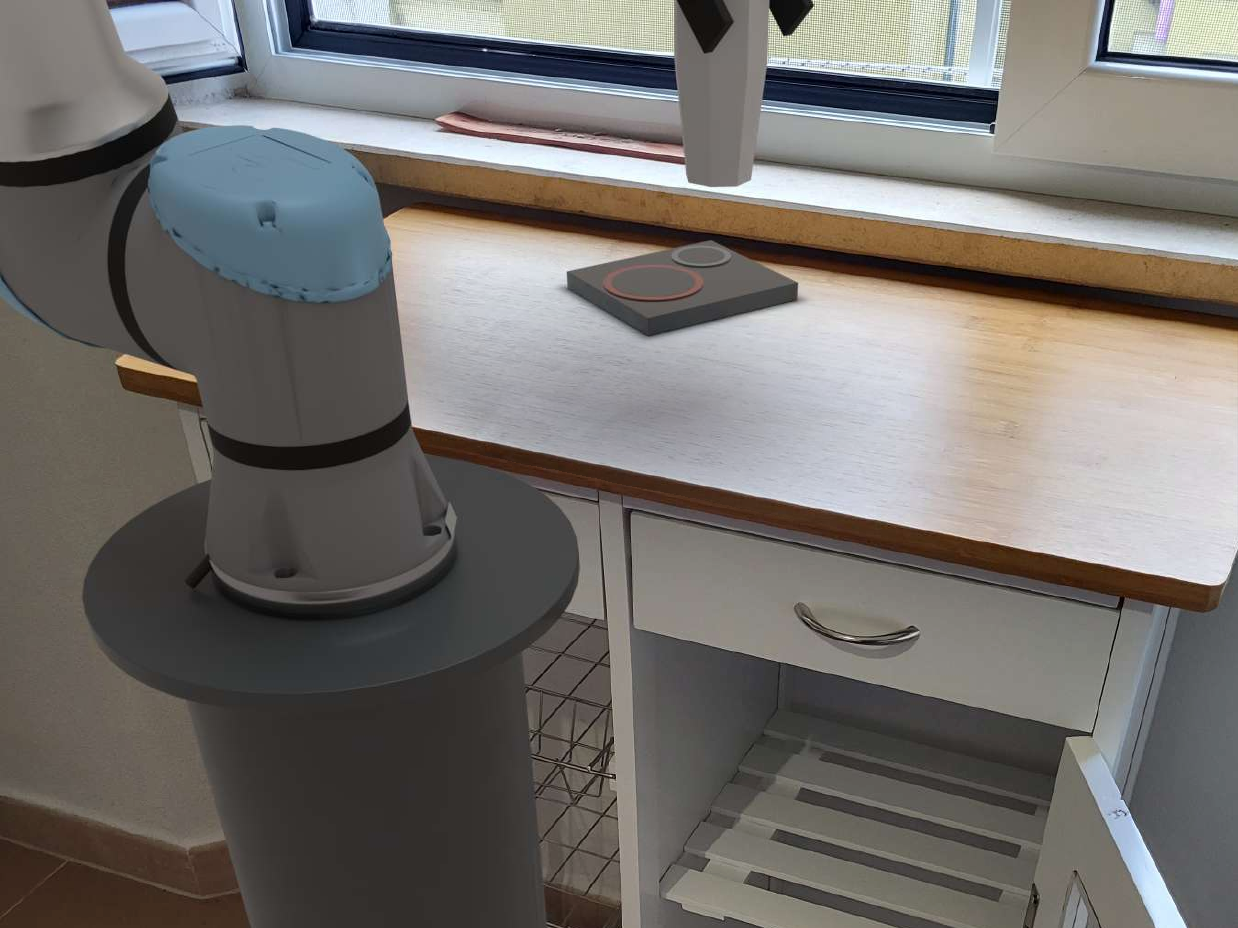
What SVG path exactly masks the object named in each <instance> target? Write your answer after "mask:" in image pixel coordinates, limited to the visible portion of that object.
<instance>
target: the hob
mask: <svg viewBox="0 0 1238 928" xmlns="http://www.w3.org/2000/svg"><path fill="white" fill-rule="evenodd" d="M566 288H567V289H568V290H570V291H571V292H574V293H575V294H576V295H578V296H580V297H582V298H583V299H585V300H587V301H588V302H590V303H592V304H593V305H596V306H597V307H599V308H600V309H602V310H604V311H606V312H608V313H609V314H610V315H612V316H614V317H615V318H617V319H619V320H621V321H623V322H624V323H626V324H627V325H629V326H631V327H633V328H634V329H636V330H638V331H640V332H641V333H643V334H645V335H646V336H648V337H649V336H653V335H656V334H662V333H666V332H669V331H673V330H679V329H682V328H685V327H689V326H695V325H698V324H702V323H703V324H704V323H707V322H711V321H715V320H719V319H723V318H728V317H731V316H736V315H740V314H744V313H747V312H751V311H756V310H759V309H764V308H768V307H772V306H776V305H780V304H784V303H788V302H789V303H790V302H792V301H797V300H798V299H799V298H798V296H799V282H798V281H796V280H794V279H792V278H789V276H785V275H783V274H781V273H779V272H778V271H775V270H773V269H772V268H769V267H767V266H765V265H763V264H761V263H759V262H757V261H755V260H752V259H751V258H749V257H747V256H744V255H743V254H740V253H738V252H736V251H735V250H732V249H730V248H728V247H726V246H724V245H722V244H720V243H718V242H715V241H714V240H712V239H710V240H705V241H701V242H697V243H691V244H687V245H682V246H677V247H673V248H669V249H664V250H659V251H654V252H650V253H646V254H640V255H636V256H632V257H631V256H630V257H626V258H623V259H618V260H613V261H608V262H603V263H598V264H595V265H590V266H586V267H581V268H576V269H572V270H571V269H570V270H567V271H566Z"/></svg>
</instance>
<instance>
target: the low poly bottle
mask: <svg viewBox="0 0 1238 928" xmlns="http://www.w3.org/2000/svg"><path fill="white" fill-rule="evenodd" d="M723 1H724V3H725V5H726V7H727V9H728V11H729V13H730V15H731V16H732V18H733V20H734V23H733V24H732V26H731V27H730V28H729V30H728V31H727V33H726V34H725V35H724V37H723V38H722V40H721V41H720V42H719V44H718V45H717V47H716V48H715V49H714V51H713V52H710V53H706V54H704V53H703V51H702V49H701V47H700V45H699V43H698V41H697V39H696V37H695V35H694V33H693V31H692V29H691V27H690V26H689V24H688V22H687V20H686V18H685V16H684V14H683V12H682V10H681V8H680V6H679V4H678V2H677V0H673V50H674V51H673V59H674V70H675V78H676V86H677V87H676V89H677V98H678V107H679V118H680V128H681V137H682V147H683V157H684V166H685V167H684V168H685V176H686V179H687V182H688V184H693V185H698V186H703V187H707V188H731V187H733V188H736V187H739V186H742V185H745V184H746V183H748V182H750V181H752V177H753V176H752V175H753V169H754V161H755V154H756V148H757V147H756V146H757V140H758V133H759V126H760V120H761V119H760V118H761V110H762V103H763V96H764V91H765V90H764V89H765V83H766V75H767V67H768V53H769V52H768V51H769V24H770V21H769V20H770V9H769V0H723Z"/></svg>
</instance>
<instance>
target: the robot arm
mask: <svg viewBox="0 0 1238 928" xmlns="http://www.w3.org/2000/svg"><path fill="white" fill-rule="evenodd" d="M677 2H678V4H679V6H680V8H681V10H682V12H683V14H684V16H685V18H686V20H687V22H688V24H689V26H690V27H691V29H692V31H693V33H694V35H695V37H696V39H697V41H698V43H699V45H700V47H701V49H702V51H703V53H704V54H706V53H710V52H713V51H714V49H715V48H716V47H717V45H718V44H719V42H720V41H721V40H722V38H723V37H724V35H725V34H726V33H727V31H728V30H729V28H730V27H731V26H732V24H733V23H734V20H733V18H732V16H731V15H730V13H729V11H728V9H727V7H726V5H725V3H724V1H723V0H677ZM814 7H815V3H814V2H813V0H769V12H770V13H771V15H772V17H773V18H774V21H775V23H776V25H777V27H778V28H779V30H780V32H781V34H782V36H783V37H790V36H792V35H793V34H794V32H795V31H796V30H797V29H798V28H799V27H800V25H801V23H802V22H803V21H804V19H805V18H806V17H807V16H808V14H809V13H810V12H811V10H812V9H813V8H814ZM170 94H171V93H170V92H169V89H168V86H167V83H166V81H165V80H164V78H163V77H162V75H160V74H159V73H158V72H156V71H155V70H154V69H151V68H150V67H148V66H146V65H144V64H143V63H141V62H140V61H138V60H136V59H135V58H133V57H131V56H130V55H128V54H127V52H126V51H125V48H124V46H123V43H122V41H121V38H120V35H119V32H118V30H117V27H116V25H115V22H114V19H113V17H112V13H111V11H110V9H109V6H108V3H107V0H0V297H1V298H2V299H3V300H4V302H6V303H7V304H8V305H9V306H11V307H12V308H13V309H14V310H15V311H17V312H18V313H19V314H20V315H22V316H24V317H26V319H29V320H30V321H32V322H34V323H36V324H38V325H40V326H42V327H45V328H46V329H48V330H49V331H51V332H53V333H55V334H57V335H58V336H59V337H62V338H63V339H64V338H65V339H67V340H69V341H73V342H74V341H75V342H77V343H81V344H82V345H84V346H88V347H92V348H99V349H108V350H111V351H115V352H118V353H121V354H124V355H128V356H130V357H134V358H137V359H140V360H143V361H147V362H148V363H149V362H150V363H153V364H156V365H159V366H162V367H165V368H168V369H172V370H174V371H177V372H181V373H184V374H187V375H190V376H193V377H194V378H195V380H196V383H197V388H198V391H199V396H200V401H201V404H202V408H203V414H204V418H205V420H206V426H207V429H208V434H209V439H210V443H211V447H212V453H213V454H212V455H213V459H212V468H211V478H210V479H211V487H210V497H209V507H208V517H207V527H206V538H205V552H206V556H205V557H204V559H203V560H202V561H201V562H200V564H199V565H198V566H197V567H196V568H195V569H194V571H193V572H192V573H191V574H190V575H189V576H188V577H187V578H186V580H185V583H186V584H187V585H188V586H190V587H191V588H193V589H195V587H196V586H197V585H198V584H199V583H200V582H201V581H202V580H203V578H204V577H205V576H206V575H207V574H208V573H209V571H210V572H211V576H212V580H213V582H214V584H215V586H216V587H217V589H218V590H219V591H220V592H221V593H222V594H223V595H224V596H225V597H226V598H227V599H229V600H230V601H232V602H233V603H235V604H237V605H239V606H241V607H243V608H245V609H248V610H251V611H253V612H257V613H260V614H264V615H268V616H273V617H279V618H287V619H297V620H329V619H340V618H348V617H355V616H360V615H365V614H370V613H374V612H378V611H382V610H385V609H388V608H391V607H394V606H397V605H400V604H402V603H405V602H407V601H409V600H411V599H413V598H415V597H417V596H419V595H421V594H423V593H424V592H426V591H428V590H429V589H431V588H432V587H434V586H435V585H436V584H437V583H439V582H440V581H441V580H442V579H443V578H444V577H445V576H446V575H447V574H448V572H449V571H450V570H451V568H452V567H453V565H454V563H455V560H456V557H457V552H458V550H457V539H456V531H455V524H456V519H457V517H456V515H455V512H454V510H453V508H452V506H451V504H450V501H449V506H448V504H447V502H446V500H445V498H444V496H443V494H442V491H441V489H440V487H439V485H438V483H437V481H436V479H435V477H434V475H433V473H432V471H431V469H430V467H429V464H428V462H427V460H426V458H425V456H424V455H425V454H424V452H423V450H422V448H421V446H420V444H419V442H418V439H417V438H416V435H415V433H414V430H413V424H412V418H411V411H410V402H409V393H408V385H407V377H406V370H405V361H404V352H403V344H402V335H401V326H400V319H399V310H398V301H397V292H396V291H397V290H396V284H395V276H394V267H393V266H394V265H393V252H392V249H391V247H392V245H391V244H392V243H391V238H390V235H389V233H388V229H387V228H386V226H385V221H384V217H383V211H382V206H381V200H380V196H379V191H378V189H377V186H376V185H377V184H376V183H375V181H374V179H373V177H372V175H371V173H370V172H369V170H368V169H367V168H366V167H365V166H364V164H363V163H362V162H361V161H360V160H359V159H358V158H356V156H354V155H353V154H352V153H351V152H349V151H348V150H346V149H345V148H343V147H341V146H339V145H337V144H335V143H333V142H330V141H328V140H326V139H323V138H320V137H318V136H316V135H315V136H314V135H311V134H310V133H306V132H301V131H297V130H293V129H289V128H283V127H271V128H268V129H267V128H266V129H259V128H257V127H255V126H253V125H245V124H243V125H240V124H239V125H238V124H237V125H233V124H232V125H219V126H210V127H204V128H199V129H194V130H190V131H186V132H184V131H183V128H182V126H181V122H180V120H179V117H178V114H177V111H176V108H175V106H174V103H173V100H172V97H171V95H170Z"/></svg>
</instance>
